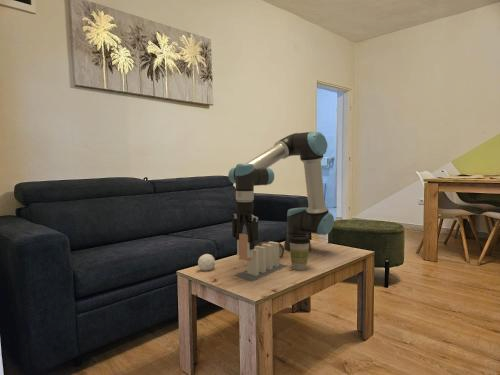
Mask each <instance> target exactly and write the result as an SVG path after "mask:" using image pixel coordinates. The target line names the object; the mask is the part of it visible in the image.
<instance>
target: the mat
mask: <svg viewBox="0 0 500 375" xmlns="http://www.w3.org/2000/svg"><path fill="white" fill-rule="evenodd" d="M286 267H288V265H287V264H283V263H282V264H281V263H279V266H278V267H274V266H273V269H271V270H269V269H266V272H264V273H262V272H259V275H257V276H255V275H251V274H248V273H247V269H246V270H242V271H241V272H239V273H236V274H234V275H232V276H233V277H236V278H239V279H242V280H246V281H249V282H255V281H258V280H259V279H261V278H264V277H266V276H268V275H271V274H273V273H275V272H277V271H279V270H282V269H284V268H286Z"/></svg>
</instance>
